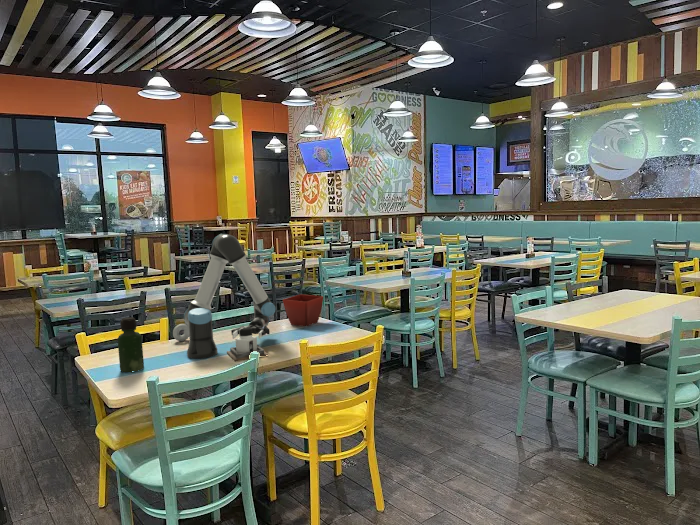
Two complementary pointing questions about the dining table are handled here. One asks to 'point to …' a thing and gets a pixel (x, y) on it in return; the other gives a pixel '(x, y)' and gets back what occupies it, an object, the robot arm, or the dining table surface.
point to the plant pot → (303, 309)
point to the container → (246, 341)
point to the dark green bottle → (130, 346)
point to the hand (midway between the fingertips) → (246, 335)
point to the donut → (176, 332)
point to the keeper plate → (243, 354)
